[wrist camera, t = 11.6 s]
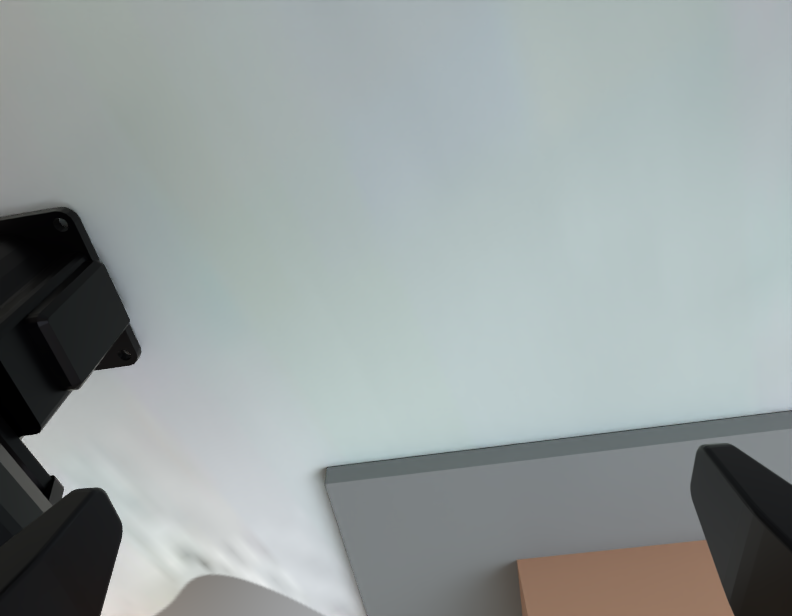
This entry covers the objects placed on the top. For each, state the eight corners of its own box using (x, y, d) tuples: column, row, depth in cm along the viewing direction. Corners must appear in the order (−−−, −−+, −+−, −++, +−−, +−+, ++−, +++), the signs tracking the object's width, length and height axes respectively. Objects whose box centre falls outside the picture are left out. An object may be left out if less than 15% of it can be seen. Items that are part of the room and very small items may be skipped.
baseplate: (393, 680, 35) (393, 698, 35) (327, 467, 27) (324, 484, 26) (771, 647, 34) (781, 664, 33) (835, 405, 25) (851, 421, 24)
